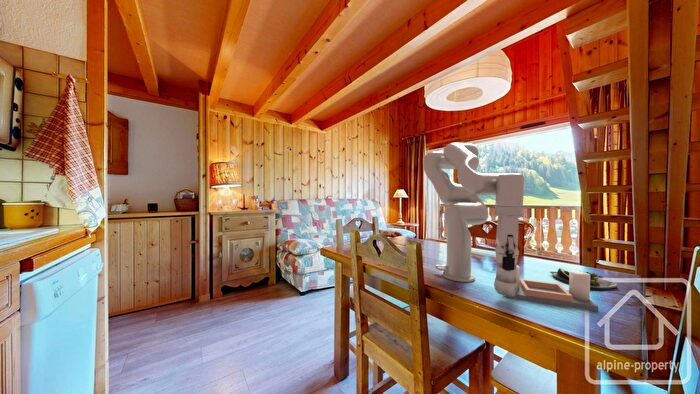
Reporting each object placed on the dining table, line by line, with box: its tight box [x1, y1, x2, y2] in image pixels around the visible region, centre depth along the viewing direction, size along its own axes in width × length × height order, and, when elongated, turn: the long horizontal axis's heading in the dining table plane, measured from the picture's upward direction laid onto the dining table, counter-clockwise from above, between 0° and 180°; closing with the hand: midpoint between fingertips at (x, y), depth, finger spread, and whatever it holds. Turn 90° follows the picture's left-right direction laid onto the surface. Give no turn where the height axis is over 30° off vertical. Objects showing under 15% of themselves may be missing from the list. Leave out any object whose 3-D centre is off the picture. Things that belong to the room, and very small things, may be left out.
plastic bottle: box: [493, 239, 520, 298], centre depth 81 cm, size 6×7×20 cm
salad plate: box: [549, 268, 618, 291], centre depth 100 cm, size 19×18×5 cm
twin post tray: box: [504, 265, 599, 312], centre depth 85 cm, size 24×12×10 cm, turn 65°
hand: (506, 265), depth 81 cm, fingers closed on plastic bottle, 6 cm apart
